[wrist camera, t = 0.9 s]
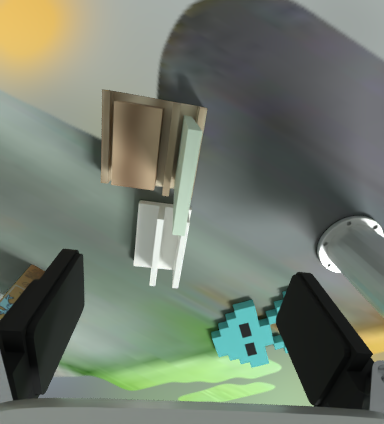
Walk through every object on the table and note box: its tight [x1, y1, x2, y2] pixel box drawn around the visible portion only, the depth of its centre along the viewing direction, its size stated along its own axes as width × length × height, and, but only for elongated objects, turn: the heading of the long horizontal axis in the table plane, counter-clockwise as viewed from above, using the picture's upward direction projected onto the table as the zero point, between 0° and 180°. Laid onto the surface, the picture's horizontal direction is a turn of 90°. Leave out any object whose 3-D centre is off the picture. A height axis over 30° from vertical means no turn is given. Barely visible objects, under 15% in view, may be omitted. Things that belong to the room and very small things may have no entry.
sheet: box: [172, 115, 203, 236], centre depth 31 cm, size 1×10×18 cm, turn 171°
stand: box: [134, 200, 191, 288], centre depth 44 cm, size 9×13×6 cm
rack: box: [101, 90, 207, 199], centre depth 37 cm, size 14×13×6 cm
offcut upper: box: [111, 101, 163, 190], centre depth 35 cm, size 6×11×2 cm, turn 171°
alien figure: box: [211, 291, 288, 367], centre depth 58 cm, size 20×2×20 cm
